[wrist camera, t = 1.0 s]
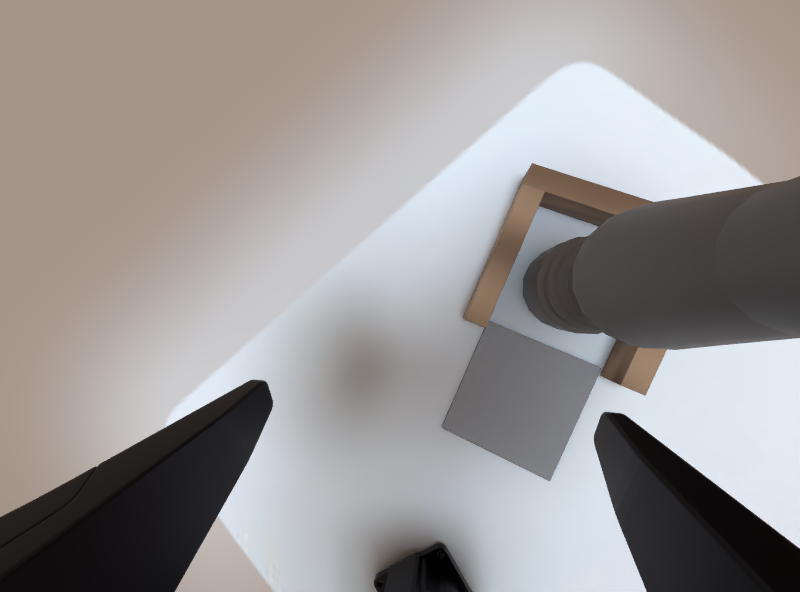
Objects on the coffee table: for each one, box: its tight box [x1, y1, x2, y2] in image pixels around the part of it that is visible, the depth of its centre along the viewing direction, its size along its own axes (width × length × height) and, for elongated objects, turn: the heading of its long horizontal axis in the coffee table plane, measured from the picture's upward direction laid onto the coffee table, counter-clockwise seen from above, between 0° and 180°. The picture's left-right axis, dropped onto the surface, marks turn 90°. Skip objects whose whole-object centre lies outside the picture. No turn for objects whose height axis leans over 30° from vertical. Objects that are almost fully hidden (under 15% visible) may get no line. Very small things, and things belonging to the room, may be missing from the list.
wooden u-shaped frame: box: [463, 163, 667, 395], centre depth 20 cm, size 12×12×2 cm
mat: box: [442, 321, 601, 481], centre depth 22 cm, size 9×8×1 cm
